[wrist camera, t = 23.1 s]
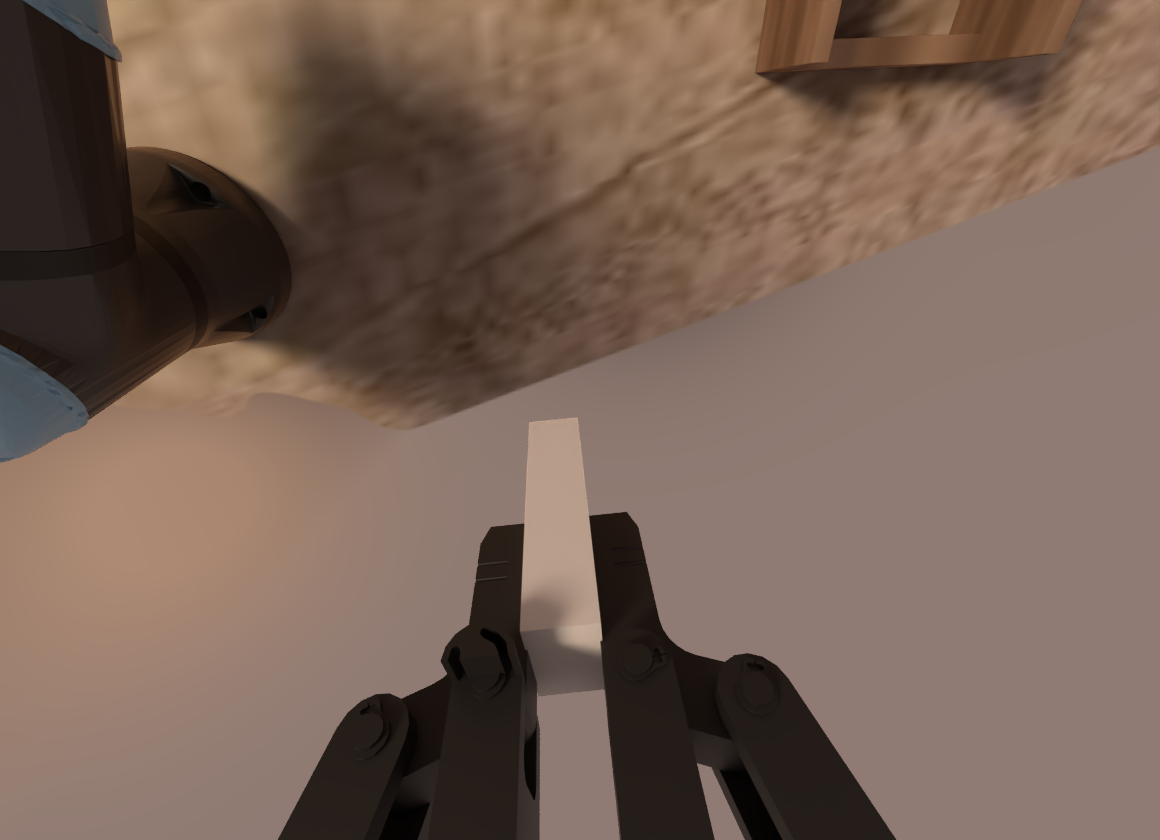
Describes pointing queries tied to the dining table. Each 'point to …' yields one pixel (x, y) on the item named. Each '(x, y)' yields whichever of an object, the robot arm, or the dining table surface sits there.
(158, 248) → the robot arm
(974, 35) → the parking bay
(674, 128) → the dining table surface
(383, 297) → the dining table surface
